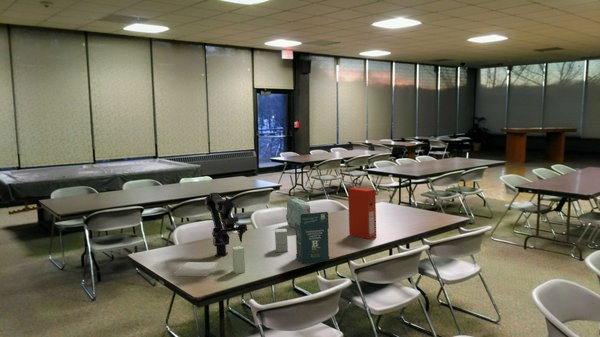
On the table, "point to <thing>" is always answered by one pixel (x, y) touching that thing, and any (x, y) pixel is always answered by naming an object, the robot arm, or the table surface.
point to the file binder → (362, 212)
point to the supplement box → (281, 240)
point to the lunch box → (296, 210)
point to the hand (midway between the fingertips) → (233, 243)
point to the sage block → (238, 259)
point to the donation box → (312, 238)
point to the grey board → (196, 269)
